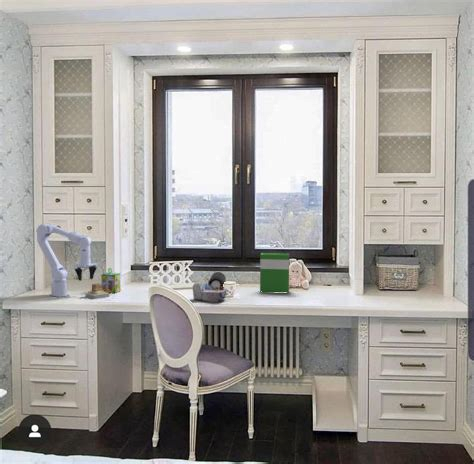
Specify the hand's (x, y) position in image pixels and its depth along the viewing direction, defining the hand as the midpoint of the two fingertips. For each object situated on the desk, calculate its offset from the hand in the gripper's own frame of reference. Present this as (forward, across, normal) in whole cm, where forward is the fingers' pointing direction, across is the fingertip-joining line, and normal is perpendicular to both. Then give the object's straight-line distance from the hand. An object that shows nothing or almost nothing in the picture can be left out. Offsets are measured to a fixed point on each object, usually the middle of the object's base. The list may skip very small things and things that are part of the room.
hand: (85, 279), depth 347 cm
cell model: (+10, +45, -60) cm, 76 cm away
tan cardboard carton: (+8, +4, -6) cm, 11 cm away
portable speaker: (+10, +73, -37) cm, 82 cm away
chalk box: (+10, +19, +2) cm, 22 cm away
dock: (+10, +4, -6) cm, 12 cm away
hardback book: (+10, +93, -68) cm, 116 cm away
